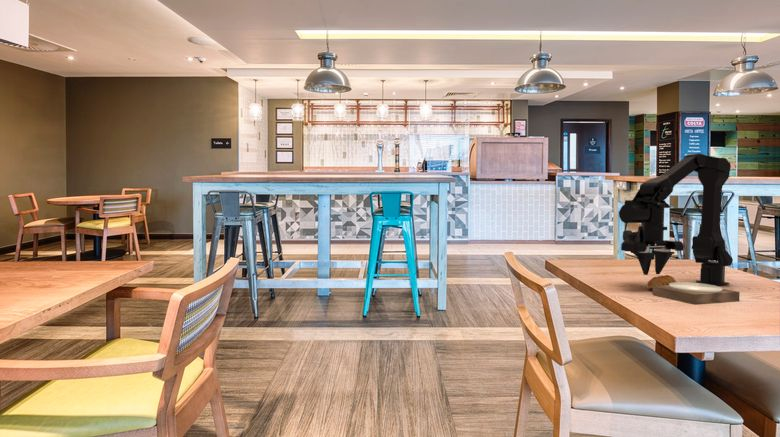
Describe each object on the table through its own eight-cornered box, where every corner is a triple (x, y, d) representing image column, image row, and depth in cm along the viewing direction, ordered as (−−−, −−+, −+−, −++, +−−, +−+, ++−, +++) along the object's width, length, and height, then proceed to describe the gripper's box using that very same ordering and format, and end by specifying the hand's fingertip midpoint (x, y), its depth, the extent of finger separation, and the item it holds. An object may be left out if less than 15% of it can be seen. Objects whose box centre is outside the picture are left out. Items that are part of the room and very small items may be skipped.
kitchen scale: (694, 292, 140) (695, 280, 140) (739, 300, 127) (739, 288, 127) (652, 294, 135) (652, 283, 135) (694, 304, 122) (694, 291, 122)
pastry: (663, 292, 137) (664, 279, 137) (640, 288, 143) (641, 275, 142) (679, 289, 142) (680, 276, 142) (656, 285, 148) (656, 273, 148)
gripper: (654, 221, 153) (653, 269, 154) (608, 222, 148) (606, 271, 148) (685, 223, 143) (684, 274, 143) (636, 223, 137) (635, 277, 138)
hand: (651, 274), depth 143 cm, fingers open, 4 cm apart
